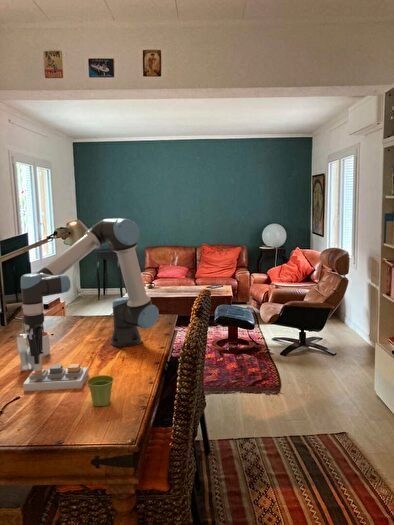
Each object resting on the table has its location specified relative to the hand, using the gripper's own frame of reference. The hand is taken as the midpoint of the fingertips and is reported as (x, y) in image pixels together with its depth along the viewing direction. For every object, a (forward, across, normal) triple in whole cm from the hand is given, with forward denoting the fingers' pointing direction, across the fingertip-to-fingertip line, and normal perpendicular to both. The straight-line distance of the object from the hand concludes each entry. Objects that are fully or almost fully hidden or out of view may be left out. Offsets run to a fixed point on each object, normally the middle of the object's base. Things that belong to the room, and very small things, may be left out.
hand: (38, 370), depth 179 cm
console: (+5, 0, +7) cm, 9 cm away
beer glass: (+6, -17, -10) cm, 21 cm away
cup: (+6, -34, -10) cm, 36 cm away
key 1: (+2, 0, 0) cm, 2 cm away
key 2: (0, 0, +14) cm, 14 cm away
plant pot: (+6, +21, +28) cm, 35 cm away
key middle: (0, 0, +7) cm, 7 cm away
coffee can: (+6, -50, -17) cm, 53 cm away
